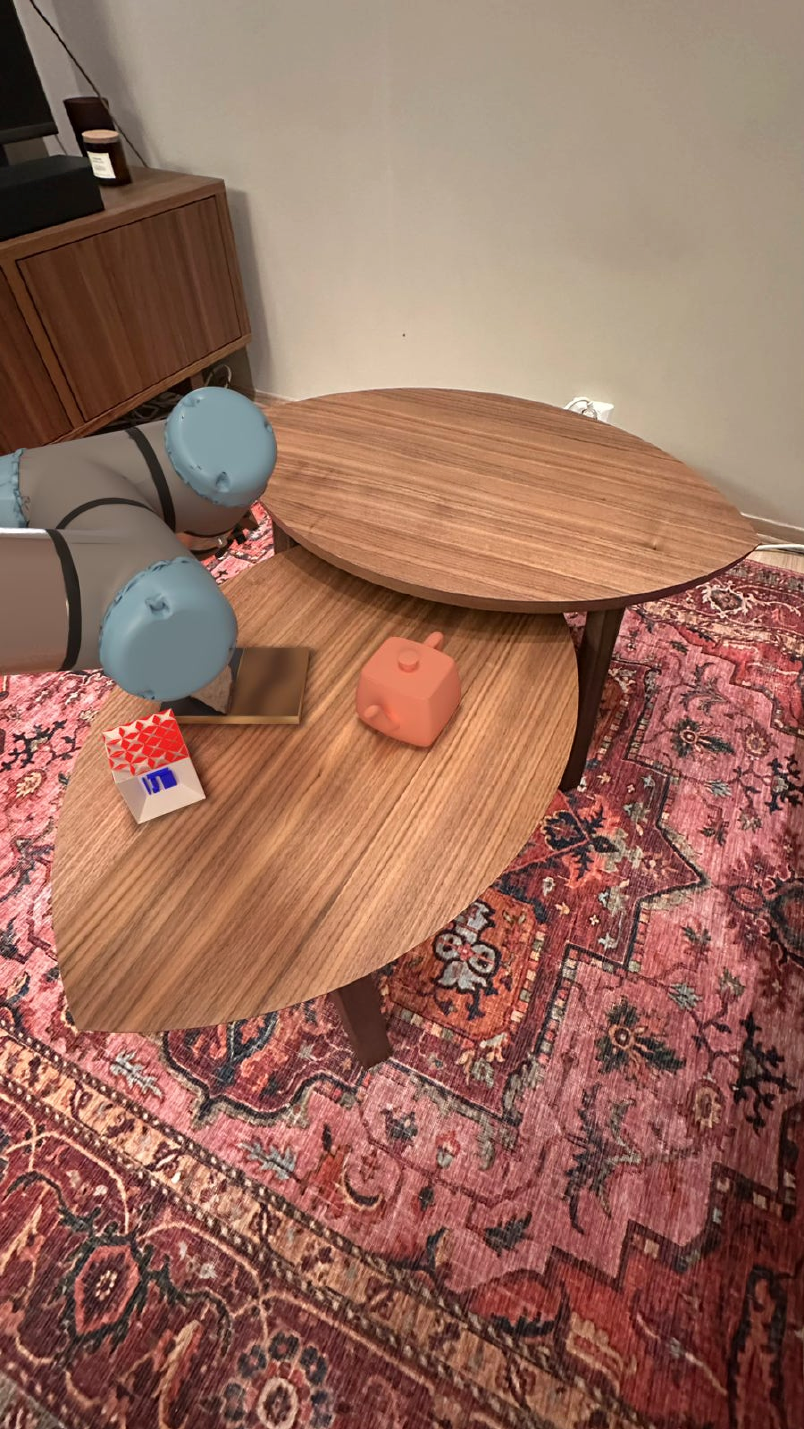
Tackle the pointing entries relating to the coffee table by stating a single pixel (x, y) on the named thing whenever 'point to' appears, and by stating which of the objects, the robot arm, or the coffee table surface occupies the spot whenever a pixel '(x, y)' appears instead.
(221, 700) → the stone
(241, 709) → the board
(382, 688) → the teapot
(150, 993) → the coffee table surface
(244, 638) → the coffee table surface
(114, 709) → the coffee table surface
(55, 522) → the robot arm
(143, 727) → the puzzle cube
